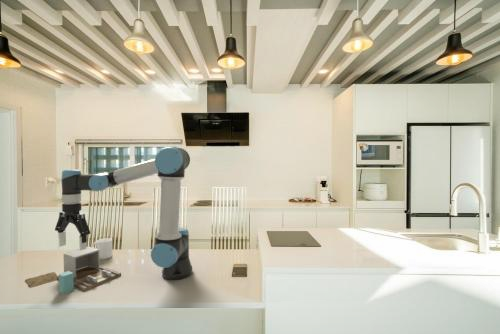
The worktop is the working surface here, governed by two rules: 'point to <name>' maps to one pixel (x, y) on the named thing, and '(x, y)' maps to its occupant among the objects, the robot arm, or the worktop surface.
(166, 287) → the worktop surface
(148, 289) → the worktop surface
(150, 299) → the worktop surface
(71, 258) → the housing
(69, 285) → the teal block
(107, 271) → the board
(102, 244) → the cup
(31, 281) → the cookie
